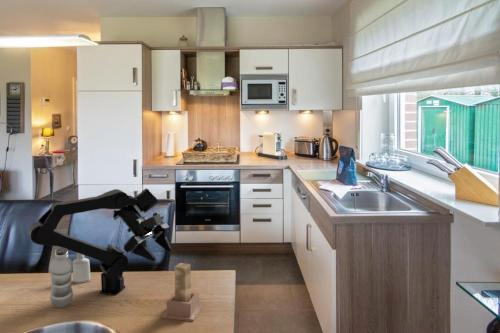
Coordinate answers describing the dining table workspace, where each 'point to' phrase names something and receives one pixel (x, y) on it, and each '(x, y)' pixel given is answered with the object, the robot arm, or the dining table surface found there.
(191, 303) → the holder cup
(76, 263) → the eye dropper bottle
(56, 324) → the dining table surface
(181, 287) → the wooden block
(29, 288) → the dining table surface
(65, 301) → the plastic bottle
